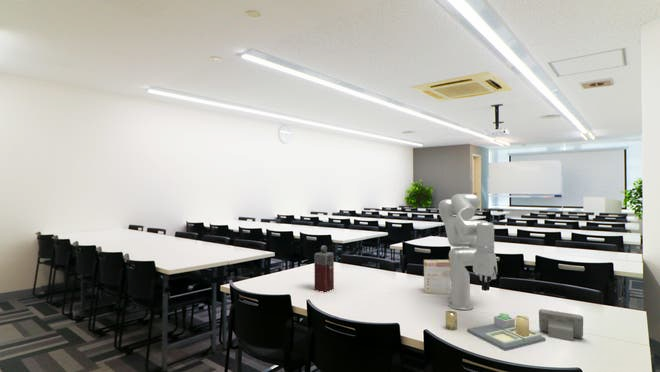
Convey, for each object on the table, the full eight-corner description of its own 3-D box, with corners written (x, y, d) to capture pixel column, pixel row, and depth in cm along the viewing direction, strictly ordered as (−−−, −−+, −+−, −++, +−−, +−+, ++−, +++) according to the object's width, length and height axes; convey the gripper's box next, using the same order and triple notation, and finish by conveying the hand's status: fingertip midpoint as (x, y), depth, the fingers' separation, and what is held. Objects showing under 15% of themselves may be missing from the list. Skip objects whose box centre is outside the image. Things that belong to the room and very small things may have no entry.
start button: (497, 323, 159) (497, 314, 160) (503, 322, 161) (503, 312, 161) (504, 327, 156) (504, 317, 156) (511, 325, 157) (511, 315, 157)
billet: (443, 327, 161) (443, 311, 161) (451, 325, 163) (451, 310, 163) (451, 331, 157) (450, 315, 157) (459, 329, 159) (459, 313, 159)
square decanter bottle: (329, 293, 214) (329, 247, 215) (314, 290, 221) (314, 245, 221) (337, 289, 222) (336, 245, 222) (322, 287, 228) (322, 244, 228)
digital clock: (585, 338, 149) (584, 313, 149) (581, 345, 142) (580, 318, 142) (541, 327, 160) (541, 304, 160) (536, 333, 153) (535, 309, 154)
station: (467, 331, 156) (467, 312, 156) (504, 323, 165) (504, 305, 165) (505, 350, 137) (505, 328, 137) (545, 340, 146) (545, 320, 146)
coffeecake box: (448, 291, 218) (448, 259, 218) (451, 294, 211) (450, 262, 211) (423, 290, 220) (423, 259, 220) (425, 293, 212) (425, 261, 213)
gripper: (466, 247, 164) (466, 287, 164) (493, 252, 151) (493, 295, 151) (477, 246, 168) (478, 285, 167) (505, 251, 154) (505, 293, 154)
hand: (485, 289), depth 159 cm, fingers closed
